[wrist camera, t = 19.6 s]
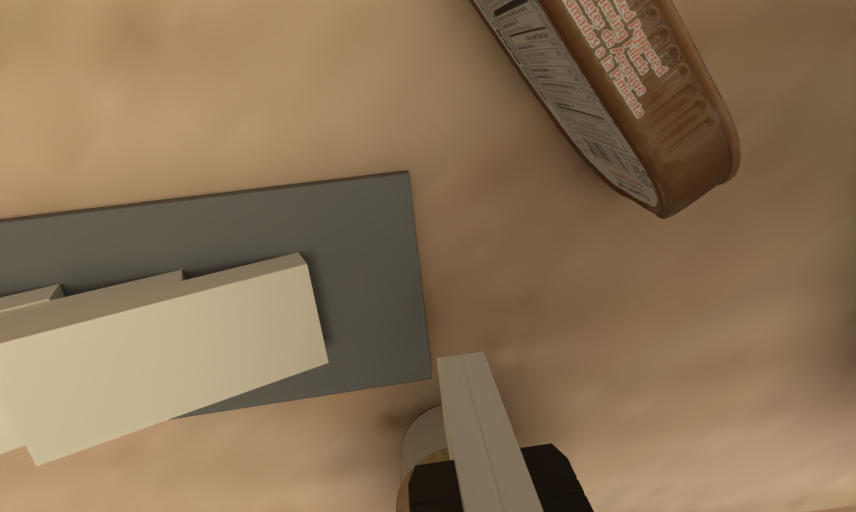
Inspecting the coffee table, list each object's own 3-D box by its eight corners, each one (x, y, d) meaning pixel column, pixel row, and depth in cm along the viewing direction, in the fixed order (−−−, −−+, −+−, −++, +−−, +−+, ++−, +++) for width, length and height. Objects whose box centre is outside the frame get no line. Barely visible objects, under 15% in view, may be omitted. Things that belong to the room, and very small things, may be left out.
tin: (644, 157, 21) (800, 198, 14) (592, 200, 22) (713, 262, 14) (451, -152, 16) (523, -370, 9) (388, -88, 17) (401, -239, 9)
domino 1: (181, 282, 18) (-203, 377, 14) (214, 381, 20) (-116, 492, 16) (182, 269, 20) (-164, 351, 16) (212, 362, 22) (-90, 459, 17)
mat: (407, 170, 20) (408, 173, 20) (430, 369, 24) (432, 378, 24) (-212, 244, 18) (-236, 251, 18) (-76, 447, 22) (-92, 460, 22)
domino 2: (307, 263, 19) (-29, 350, 14) (328, 362, 21) (36, 466, 16) (298, 252, 20) (-8, 327, 16) (319, 345, 22) (49, 435, 18)
